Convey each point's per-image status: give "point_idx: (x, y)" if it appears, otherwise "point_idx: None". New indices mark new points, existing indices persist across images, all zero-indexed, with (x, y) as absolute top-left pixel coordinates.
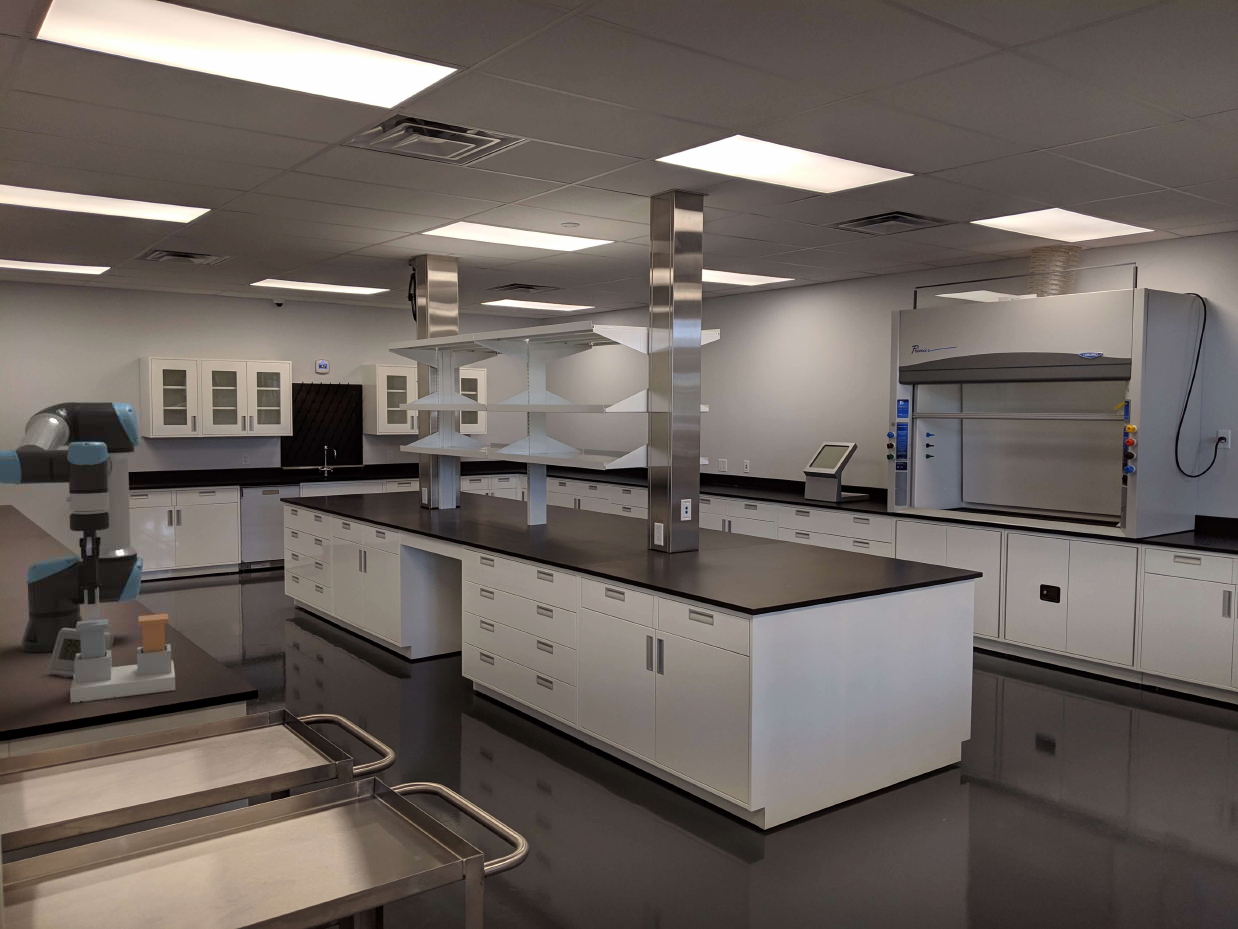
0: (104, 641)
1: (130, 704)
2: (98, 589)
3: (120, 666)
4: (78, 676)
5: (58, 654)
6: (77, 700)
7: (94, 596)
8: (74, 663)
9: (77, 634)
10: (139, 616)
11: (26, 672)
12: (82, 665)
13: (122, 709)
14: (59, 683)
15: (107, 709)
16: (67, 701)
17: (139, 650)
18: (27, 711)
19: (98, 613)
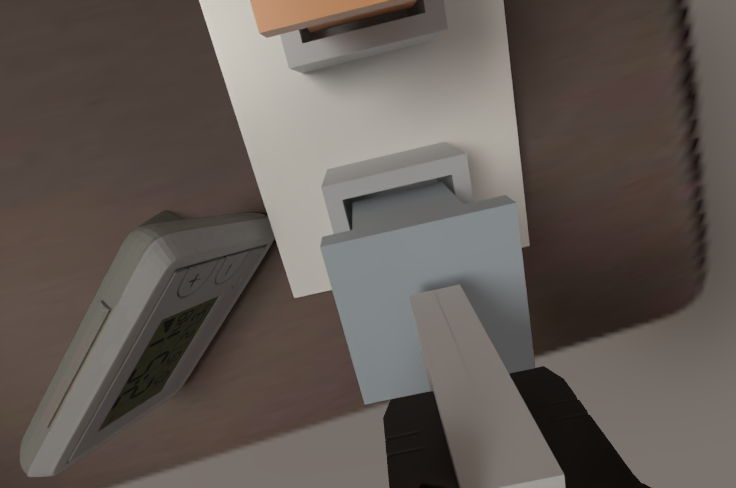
0: (382, 215)
1: (603, 28)
2: (510, 469)
3: (251, 156)
4: None
5: (149, 401)
6: None
7: (594, 424)
8: None
9: (108, 393)
10: (276, 19)
11: (137, 445)
12: None
13: (653, 42)
14: (276, 326)
15: (630, 95)
16: None
17: (363, 37)
18: (552, 318)
19: (469, 303)
